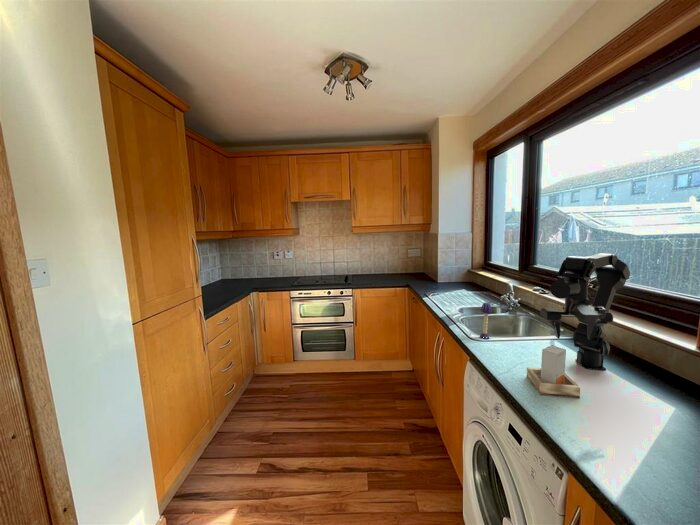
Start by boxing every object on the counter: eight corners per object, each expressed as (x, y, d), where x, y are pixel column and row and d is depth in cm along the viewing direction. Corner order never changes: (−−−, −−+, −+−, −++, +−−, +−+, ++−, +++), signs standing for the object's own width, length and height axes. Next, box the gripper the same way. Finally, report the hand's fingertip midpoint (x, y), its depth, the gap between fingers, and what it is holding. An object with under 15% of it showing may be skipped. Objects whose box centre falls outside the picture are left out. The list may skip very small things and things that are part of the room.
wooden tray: (561, 379, 92) (561, 369, 91) (579, 398, 82) (580, 387, 81) (526, 377, 94) (527, 367, 94) (540, 395, 84) (541, 384, 84)
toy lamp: (490, 336, 129) (491, 302, 127) (491, 340, 125) (492, 304, 123) (479, 335, 131) (480, 301, 129) (479, 338, 127) (480, 304, 125)
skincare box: (554, 390, 85) (556, 354, 83) (539, 384, 88) (541, 349, 87) (564, 384, 87) (566, 349, 86) (549, 378, 91) (551, 344, 90)
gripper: (557, 299, 85) (554, 347, 87) (628, 301, 81) (624, 351, 83) (540, 291, 96) (538, 334, 98) (603, 292, 92) (599, 336, 94)
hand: (573, 338), depth 93 cm, fingers open, 9 cm apart
